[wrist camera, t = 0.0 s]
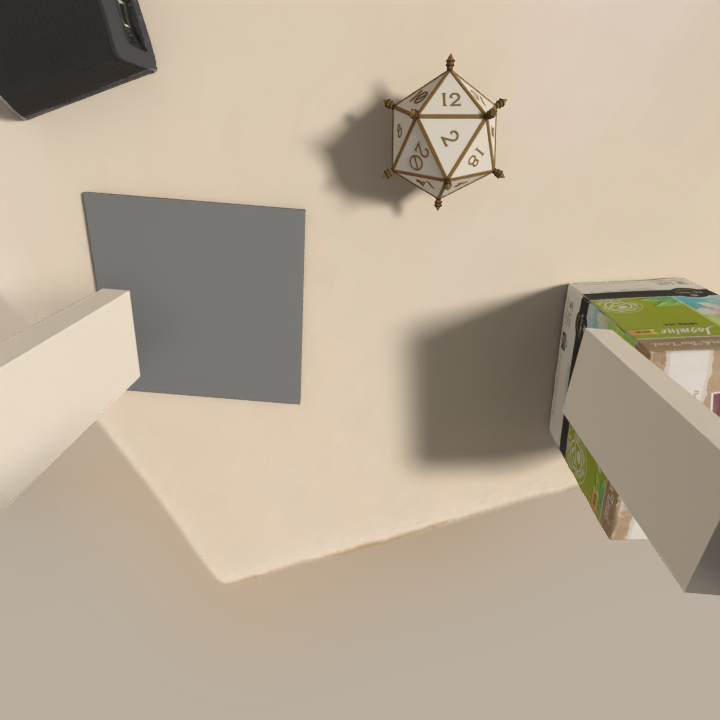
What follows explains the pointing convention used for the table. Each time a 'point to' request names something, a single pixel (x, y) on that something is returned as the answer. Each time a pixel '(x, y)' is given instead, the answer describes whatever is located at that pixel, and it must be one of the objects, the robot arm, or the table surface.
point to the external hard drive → (68, 51)
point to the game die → (444, 135)
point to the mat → (206, 292)
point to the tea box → (653, 340)
